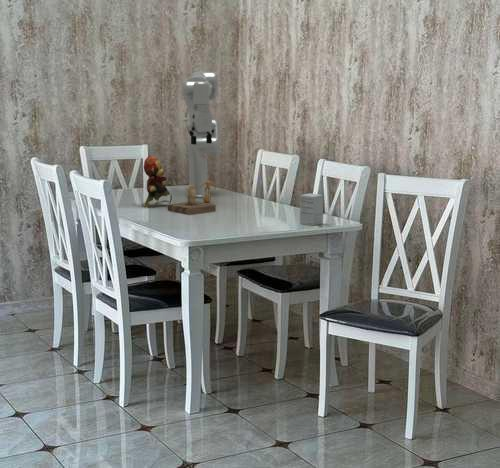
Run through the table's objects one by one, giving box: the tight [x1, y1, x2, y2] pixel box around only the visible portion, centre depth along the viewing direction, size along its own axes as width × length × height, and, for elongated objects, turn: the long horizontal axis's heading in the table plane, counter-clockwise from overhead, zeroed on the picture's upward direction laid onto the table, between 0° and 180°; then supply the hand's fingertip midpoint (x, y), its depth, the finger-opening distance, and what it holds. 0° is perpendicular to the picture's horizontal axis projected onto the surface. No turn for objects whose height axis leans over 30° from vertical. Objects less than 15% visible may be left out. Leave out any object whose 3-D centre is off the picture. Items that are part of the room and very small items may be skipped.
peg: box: [187, 184, 197, 206], centre depth 386 cm, size 4×4×12 cm
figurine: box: [200, 178, 217, 204], centre depth 411 cm, size 8×6×12 cm
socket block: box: [167, 201, 217, 216], centre depth 387 cm, size 16×16×3 cm
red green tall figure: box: [143, 155, 172, 208], centre depth 400 cm, size 15×17×25 cm
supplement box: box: [299, 192, 324, 226], centre depth 353 cm, size 7×7×13 cm
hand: (201, 143), depth 397 cm, fingers open, 9 cm apart
